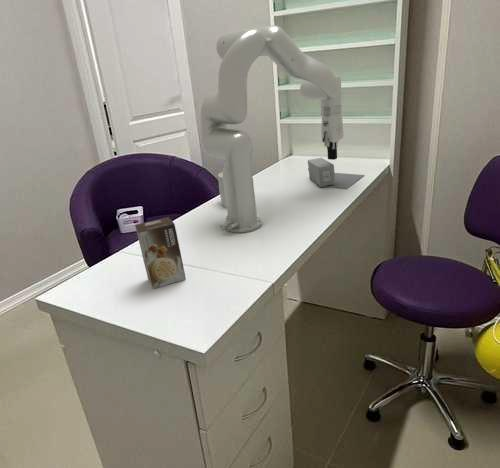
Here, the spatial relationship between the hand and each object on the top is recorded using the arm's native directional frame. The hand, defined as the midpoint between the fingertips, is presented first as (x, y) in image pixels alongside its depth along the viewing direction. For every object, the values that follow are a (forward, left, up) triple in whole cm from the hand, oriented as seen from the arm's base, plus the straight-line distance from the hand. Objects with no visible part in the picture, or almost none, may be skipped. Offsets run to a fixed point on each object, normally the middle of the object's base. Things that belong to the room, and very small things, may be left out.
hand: (332, 158), depth 165 cm
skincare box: (-2, +2, -7) cm, 7 cm away
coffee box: (-84, +9, -12) cm, 86 cm away
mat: (+8, 0, -11) cm, 14 cm away
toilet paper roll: (-28, +27, -12) cm, 41 cm away
